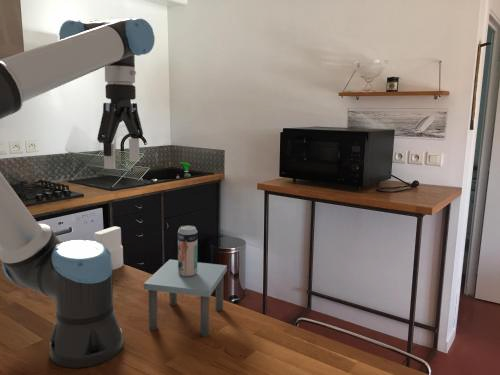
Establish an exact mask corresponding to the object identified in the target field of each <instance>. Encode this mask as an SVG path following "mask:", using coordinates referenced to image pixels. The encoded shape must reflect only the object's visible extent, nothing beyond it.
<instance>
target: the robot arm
mask: <svg viewBox="0 0 500 375" xmlns="http://www.w3.org/2000/svg"><path fill="white" fill-rule="evenodd" d="M58 35H59V40H56V41H53V42H50V43H47V44H44V45H41V46H37V47H35V48H32V49H29V50H26V51H22V52H19V53H16V54H14V55H11V56H7V57H5V58H1V59H0V120H2V119H3V118H6V117H8V116H10V115H13V114H16V113H17V112H19V111H20V110H22V107H23V104H24V102H26V101H29V100H32V99H33V98H36V97H38V96H41V95H42V94H45V93H47V92H49V91H51V90H54V89H57V88H58V87H61V86H63V85H65V84H68V83H70V82H72V81H75V80H77V79H79V78H82V77H84V76H86V75H88V74H91V73H93V72H96V71H98V70H100V69H102V68H104V82H105V83H107V84H105V98H106V99H107V100H110V102H103V103H102V104H103V105H102V115H101V120H100V124H99V129H98V132H97V137H96V138H97V142H98V143H100V144H103V145H102V146H103V164H104V165H103V166H104V169H105V170H106V169H108V170H115V169H116V168H117V167H116V145H115V142H113V141H114V139H115V136H116V133H117V130H118V129H119V125H120V124H121V122H123V124H124V126H125V127H126V130H127V133H128V134H129V136H130V137H129V138H128V152H129V155H128V156H129V162H133V163H134V162H135V163H139V162H140V139H143V135H144V132H143V127H142V124H141V119H140V115H139V111H138V104H137V102H132V101H133V100H136V99H137V97H136V96H137V94H136V90H137V88H136V86H135V85H134V84H135V83H136V74H137V71H136V65H135V64H136V63H135V62H136V61H135V58H136V56H138V57H139V56H141V55H148V54H149V53H150V52H151V51H152V49H153V48H154V45H155V40H156V39H155V33H154V29H153V27H152V25H151V24H150V23H149V22H148V21H147V20H146V19H144V18H133V17H130V18H125V19H118V18H117V19H114V18H113V19H112V18H109V19H105V20H102V21H101V20H100V21H89V22H87V21H81V20H79V19H78V20H75V19H67V20H65V21H64V22H63V23H62V24H61V26H60V28H59V32H58ZM0 261H1V268H2V271H3V274H4V275H5V276H6V278H7V279H8V280H9V281H11V282H12V283H13V284H15V285H16V286H18V287H20V288H23V289H29V290H32V291H34V292H36V293H39V294H42V295H45V296H47V297H49V298H51V299H52V298H53V299H54V301H55V312H56V315H55V316H56V321H55V324H54V326H53V328H54V329H53V330H52V331H53V332H52V333H51V334H52V335H51V338H50V341H49V356H50V359H51V360H52V362H53V363H55V365H56V364H57V365H59V366H61V367H64V368H69V369H70V368H71V369H72V368H73V369H75V368H76V369H77V368H78V369H79V368H87V367H92V366H96V365H99V364H101V363H105V362H107V361H108V360H110V359H112V358H113V357H115V356H116V355H117V354H118V353H119V352H120V351H121V350H122V348H123V345H124V341H123V340H124V338H123V336H124V335H123V331H122V328H121V327H120V323H119V322H118V321H119V320H118V319H117V316H116V314H115V311H114V274H113V273H114V272H113V271H114V269H113V264H112V261H111V253H110V251H109V249H108V248H107V247H106V246H104V245H103V244H101V243H98V242H95V240H91V239H89V240H88V239H86V240H83V239H73V240H67V241H65V242H61V241H60V240H59V238H58V237H57V236H56V234H55V233H54V231H53V230H52V229H51V227H50V226H49V225H48V224H46V223H39V222H37V220H36V218H35V217H34V216H33V215H32V214H31V211H29V210H28V208H27V207H26V205H25V204H24V203H23V201H22V199H21V198H20V197H19V195H18V194H17V193H16V191H15V190H14V188H13V187H12V186H11V185H10V182H9V181H8V180H7V179H6V178H5V176H4V175H3V173H2V172H1V171H0Z"/></svg>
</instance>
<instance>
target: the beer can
mask: <svg viewBox="0 0 500 375" xmlns="http://www.w3.org/2000/svg"><path fill="white" fill-rule="evenodd" d="M177 230H178V231H177V260H178V274H180V275H181V276H184V277H190V276H193V275H195V274H196V273H197V262H198V233H199V232H198V230H197V227H196V226H194V225H189V224H188V225H187V224H186V225H182V226H179V228H178V229H177Z"/></svg>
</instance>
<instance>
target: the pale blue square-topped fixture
mask: <svg viewBox="0 0 500 375" xmlns="http://www.w3.org/2000/svg"><path fill="white" fill-rule="evenodd" d="M227 271H228V265H227V264H226V265H225V264H219V263H218V264H216V263H209V262H208V263H207V262H198V261H197V273H196V274H195V275H193V276H190V277H184V276H181V275H180V274H178V259H168V261H166V262H165V263H164V264H163V265H162V266H161V267H160V268H158V270H156V272H154V273H153V274H152V275H151V276H150V277H149V278H148V279H147V280H146V281H144V282H143V290H147V291H148V292H147V293H148V294H147V295H148V297H147V298H148V328H149V329H148V330H150V331H154V330H155V331H156V330H157V329H158V292H163V293H169V294H168V297H169V299H168V302H169V304H168V305H169V306H175V305H177V304H178V295H177V294H180V295H189V296H197V297H200V319H199V320H200V329H199V330H200V337H202V338H207V337H209V335H210V296H211V295H212V294H213V293H214V291H215V311H216V312H223V310H224V283H225V282H224V278H225V277H224V276H225V275H226V273H227Z"/></svg>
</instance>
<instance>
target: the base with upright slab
mask: <svg viewBox="0 0 500 375" xmlns="http://www.w3.org/2000/svg"><path fill="white" fill-rule="evenodd" d="M93 235H94V241H95V242H98V243H101V244H103V245H104V246H106V247H107V248H108V249H109V251H110V253H111V261H112V264H113V270H116V269H119V268H121V267H123V266H124V247H123V245H122V229H121V227H120V226H116V225H115V226H111V227H108V228H105V229H101V230H99V231H96V232H94V233H93Z"/></svg>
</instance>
